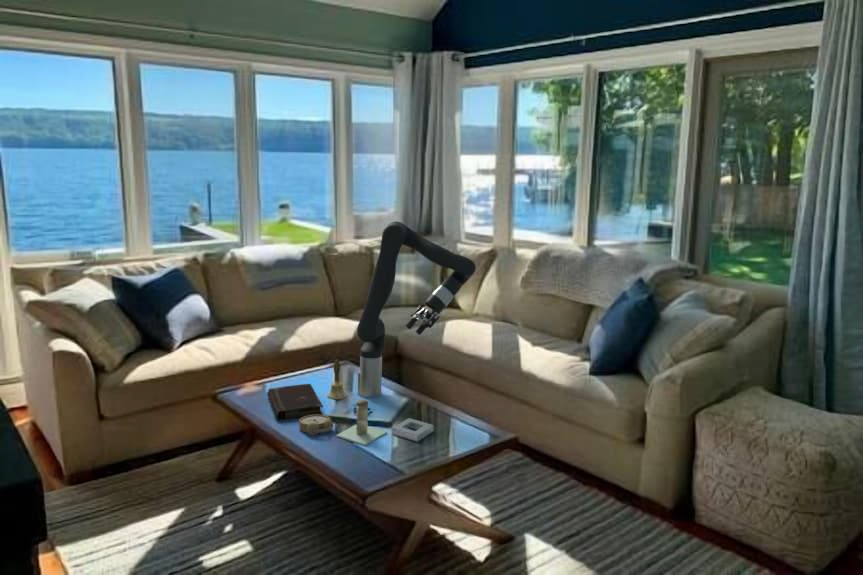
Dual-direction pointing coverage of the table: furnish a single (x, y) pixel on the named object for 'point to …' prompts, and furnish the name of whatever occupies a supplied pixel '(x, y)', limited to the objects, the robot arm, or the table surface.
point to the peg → (362, 417)
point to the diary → (294, 401)
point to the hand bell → (336, 385)
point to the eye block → (405, 431)
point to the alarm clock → (315, 424)
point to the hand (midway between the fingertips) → (412, 330)
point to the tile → (363, 440)
